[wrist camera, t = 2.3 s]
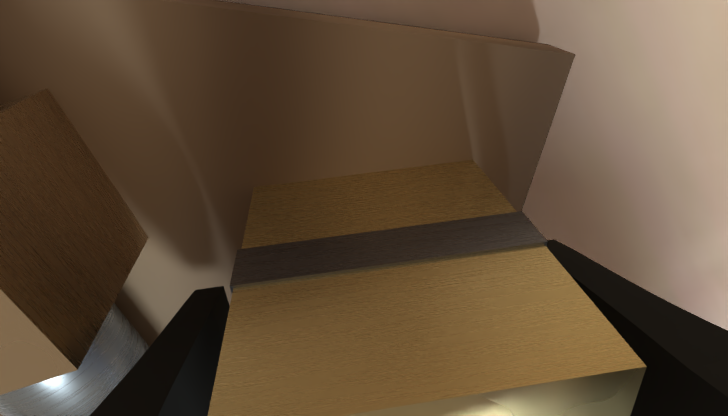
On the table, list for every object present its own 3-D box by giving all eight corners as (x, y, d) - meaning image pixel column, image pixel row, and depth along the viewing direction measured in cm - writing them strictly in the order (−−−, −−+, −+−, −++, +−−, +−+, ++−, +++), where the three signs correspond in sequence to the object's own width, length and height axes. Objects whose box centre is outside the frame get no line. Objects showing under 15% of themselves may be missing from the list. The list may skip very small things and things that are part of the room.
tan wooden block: (475, 157, 10) (651, 362, 5) (467, 322, 13) (580, 571, 8) (251, 185, 10) (197, 436, 5) (288, 348, 13) (280, 628, 7)
